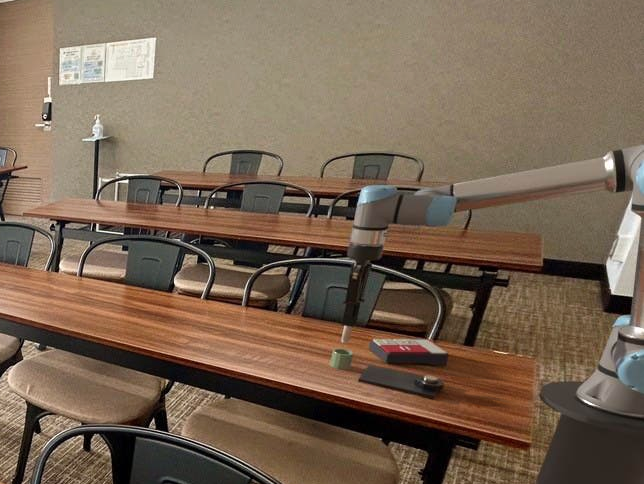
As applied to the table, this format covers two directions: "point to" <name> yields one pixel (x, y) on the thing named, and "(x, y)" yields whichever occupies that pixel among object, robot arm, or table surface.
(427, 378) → the button
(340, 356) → the pen cup
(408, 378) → the tablet
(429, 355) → the calculator
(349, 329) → the stylus
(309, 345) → the table surface
